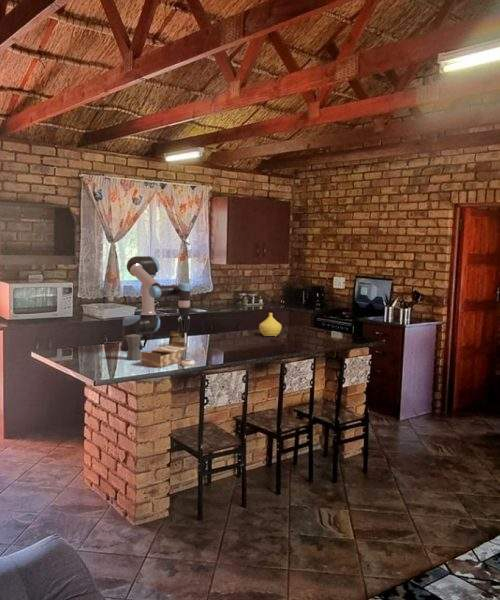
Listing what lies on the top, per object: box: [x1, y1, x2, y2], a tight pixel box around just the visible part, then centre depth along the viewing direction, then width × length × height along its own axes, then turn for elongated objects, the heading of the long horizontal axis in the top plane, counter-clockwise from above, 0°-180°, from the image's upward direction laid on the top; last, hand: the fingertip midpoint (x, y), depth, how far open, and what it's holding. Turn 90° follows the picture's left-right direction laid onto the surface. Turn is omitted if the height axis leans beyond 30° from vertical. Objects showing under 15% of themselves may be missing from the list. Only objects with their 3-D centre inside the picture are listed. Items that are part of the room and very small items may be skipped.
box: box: [140, 350, 181, 369], centre depth 341 cm, size 20×15×8 cm
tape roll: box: [180, 359, 196, 367], centre depth 340 cm, size 8×8×3 cm
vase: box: [258, 312, 282, 337], centre depth 458 cm, size 18×18×19 cm
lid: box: [151, 341, 190, 353], centre depth 350 cm, size 19×14×4 cm
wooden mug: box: [167, 325, 182, 346], centre depth 401 cm, size 9×14×18 cm, turn 133°
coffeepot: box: [124, 331, 149, 361], centre depth 354 cm, size 15×9×18 cm, turn 90°
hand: (183, 342), depth 363 cm, fingers closed
